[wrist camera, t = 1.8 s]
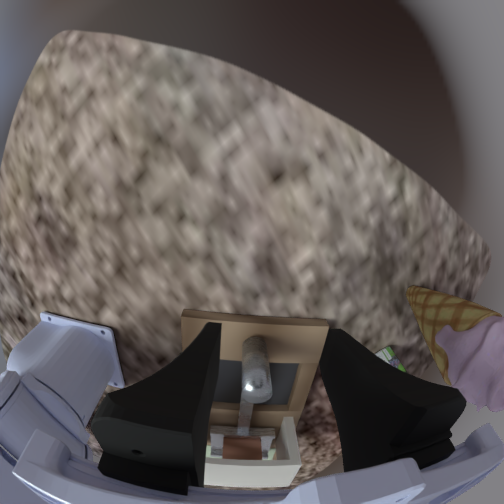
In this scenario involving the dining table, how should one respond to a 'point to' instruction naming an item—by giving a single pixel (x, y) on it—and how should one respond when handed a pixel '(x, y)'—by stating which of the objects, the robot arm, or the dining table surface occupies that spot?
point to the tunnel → (259, 465)
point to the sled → (249, 399)
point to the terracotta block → (242, 448)
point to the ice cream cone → (463, 344)
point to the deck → (280, 363)
